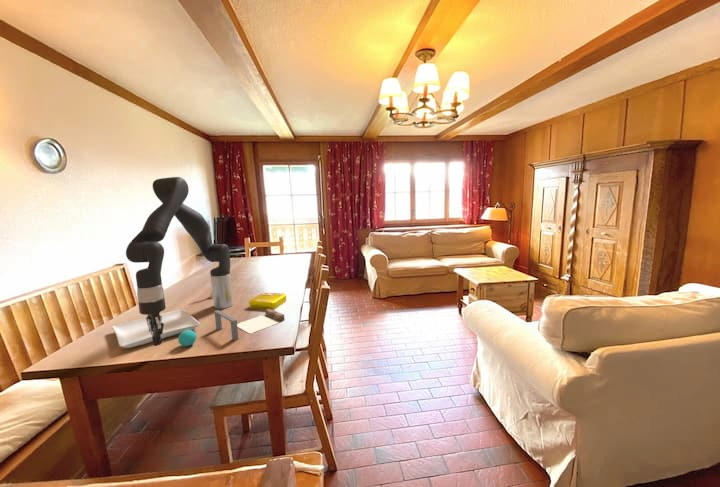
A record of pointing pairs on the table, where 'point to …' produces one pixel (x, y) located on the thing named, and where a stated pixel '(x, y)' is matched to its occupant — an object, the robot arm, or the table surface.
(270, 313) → the stopper
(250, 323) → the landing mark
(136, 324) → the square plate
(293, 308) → the table surface
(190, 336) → the ball
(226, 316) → the grey u-shaped frame
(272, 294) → the element tile
